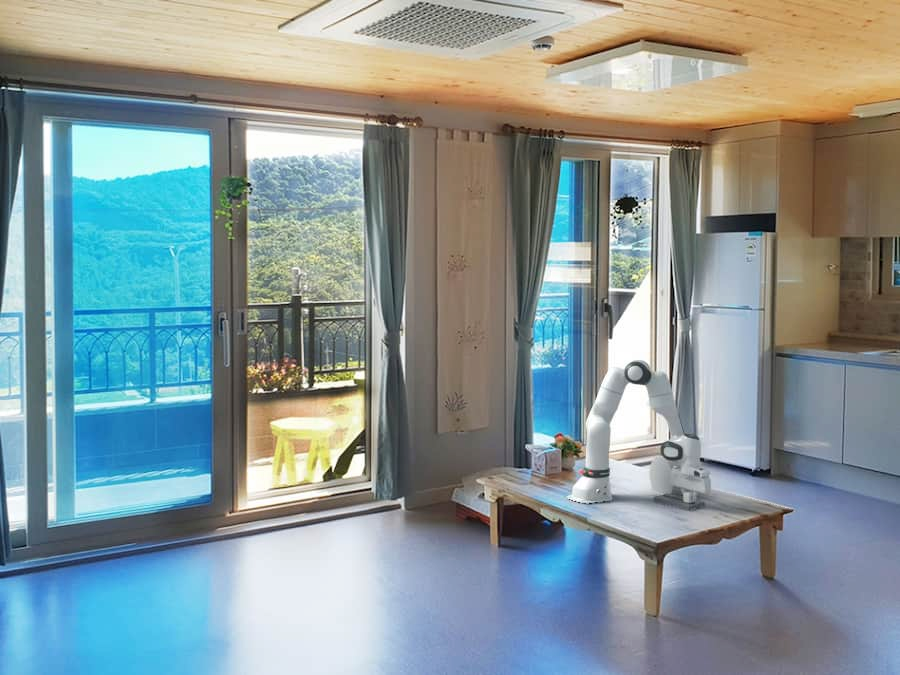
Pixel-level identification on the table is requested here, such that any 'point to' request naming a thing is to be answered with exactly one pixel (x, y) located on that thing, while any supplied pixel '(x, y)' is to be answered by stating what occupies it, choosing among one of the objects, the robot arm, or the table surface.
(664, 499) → the fader deck
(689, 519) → the table surface
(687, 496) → the fader knob
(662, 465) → the alarm clock
